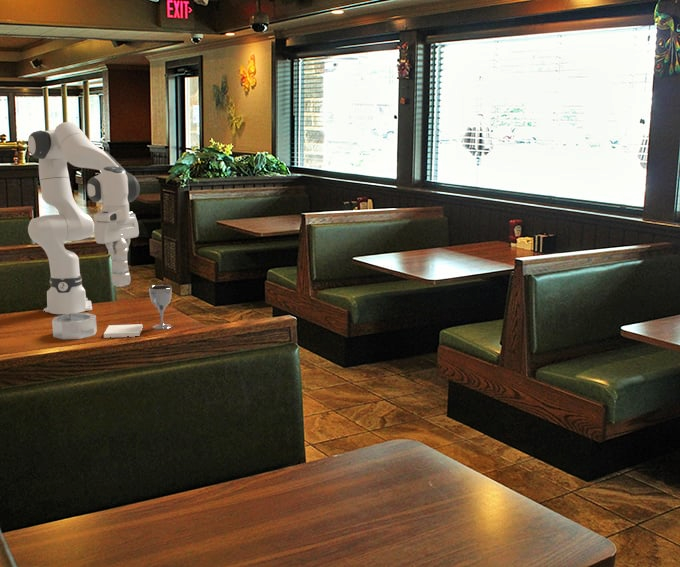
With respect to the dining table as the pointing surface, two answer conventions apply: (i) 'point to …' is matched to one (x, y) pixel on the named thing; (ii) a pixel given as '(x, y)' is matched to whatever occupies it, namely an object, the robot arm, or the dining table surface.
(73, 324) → the steel collar
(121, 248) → the plastic bottle
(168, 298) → the wine glass
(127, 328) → the ceramic pad
